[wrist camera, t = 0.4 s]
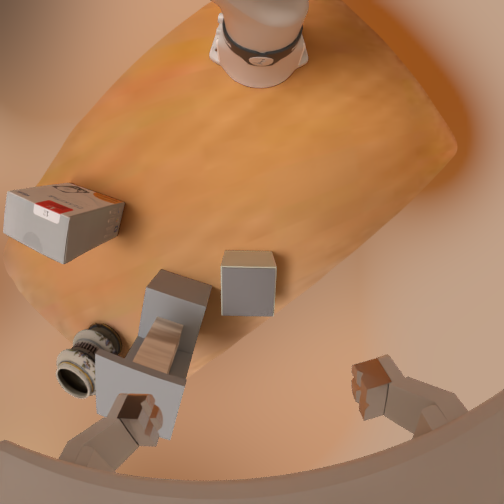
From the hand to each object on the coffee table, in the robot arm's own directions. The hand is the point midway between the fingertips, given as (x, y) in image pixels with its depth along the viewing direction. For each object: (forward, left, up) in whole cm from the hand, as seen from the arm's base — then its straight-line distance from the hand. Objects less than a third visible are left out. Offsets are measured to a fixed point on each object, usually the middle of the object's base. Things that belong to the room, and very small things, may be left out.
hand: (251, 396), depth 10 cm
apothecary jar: (+30, -35, -45) cm, 65 cm away
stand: (+11, 0, -45) cm, 46 cm away
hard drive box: (-2, -33, -45) cm, 56 cm away
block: (+20, -14, -36) cm, 43 cm away
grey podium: (+18, -14, -45) cm, 50 cm away
